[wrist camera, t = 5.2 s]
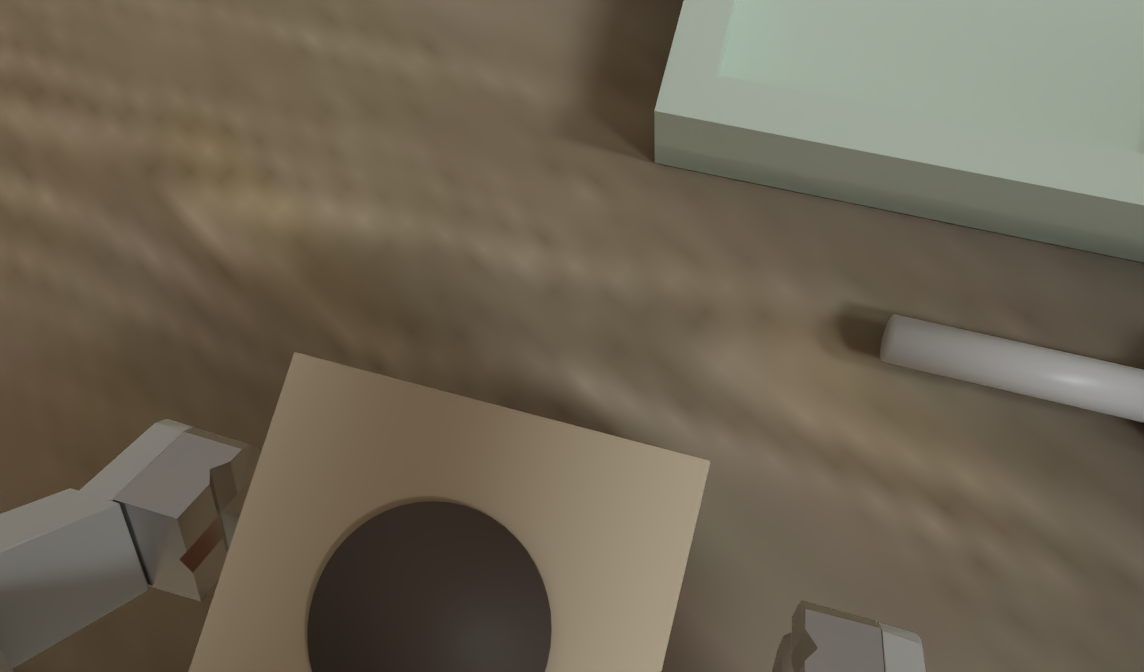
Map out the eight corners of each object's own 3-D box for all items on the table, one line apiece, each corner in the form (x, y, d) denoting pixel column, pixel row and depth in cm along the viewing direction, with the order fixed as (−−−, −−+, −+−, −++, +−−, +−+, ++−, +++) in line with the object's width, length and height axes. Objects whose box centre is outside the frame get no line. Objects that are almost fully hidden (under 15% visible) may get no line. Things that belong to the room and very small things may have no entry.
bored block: (681, 475, 16) (711, 460, 7) (629, 692, 15) (592, 968, 7) (478, 421, 17) (281, 347, 8) (419, 625, 16) (132, 793, 7)
